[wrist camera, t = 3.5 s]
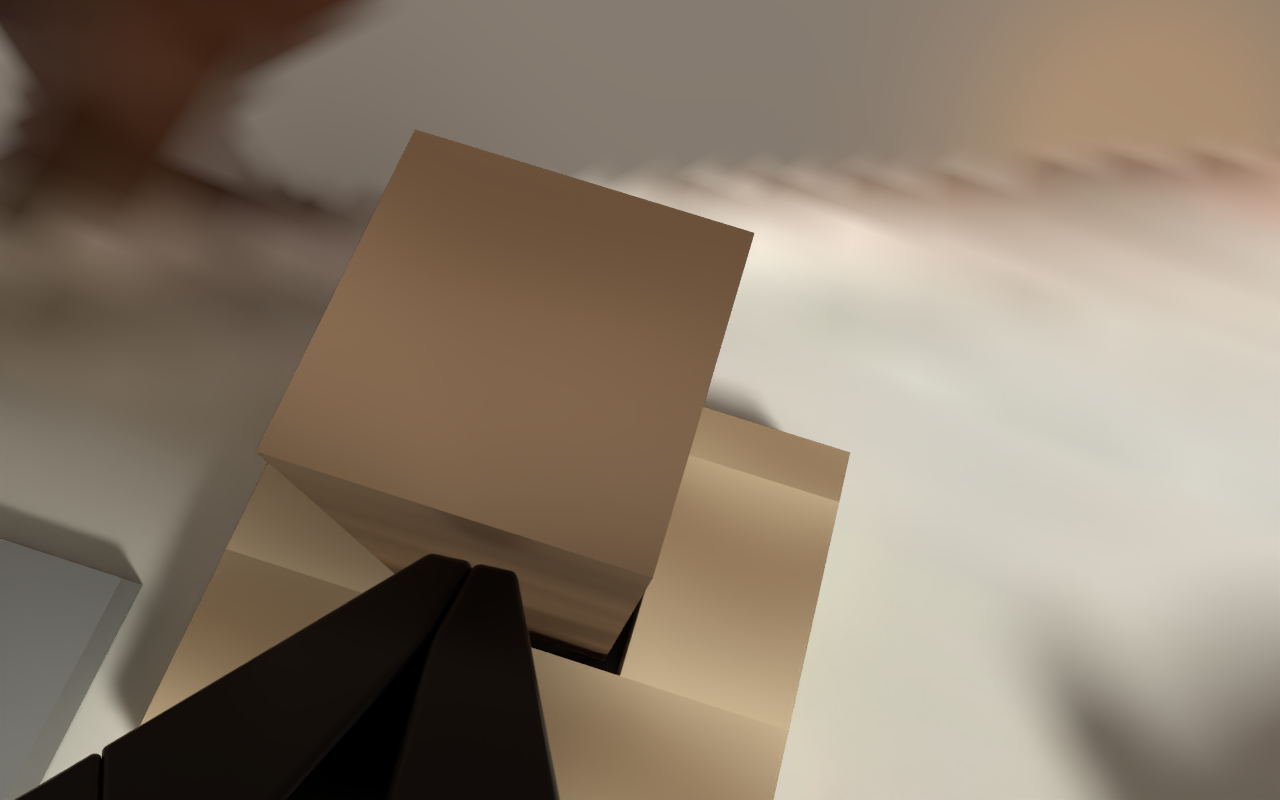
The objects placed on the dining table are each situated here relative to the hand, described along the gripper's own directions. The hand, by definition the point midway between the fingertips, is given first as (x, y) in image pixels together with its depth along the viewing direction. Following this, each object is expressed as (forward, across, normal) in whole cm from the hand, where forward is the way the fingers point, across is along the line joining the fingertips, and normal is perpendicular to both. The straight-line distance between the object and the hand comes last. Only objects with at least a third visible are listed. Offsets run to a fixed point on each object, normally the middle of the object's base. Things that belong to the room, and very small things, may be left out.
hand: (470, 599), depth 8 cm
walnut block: (+4, 0, +1) cm, 4 cm away
